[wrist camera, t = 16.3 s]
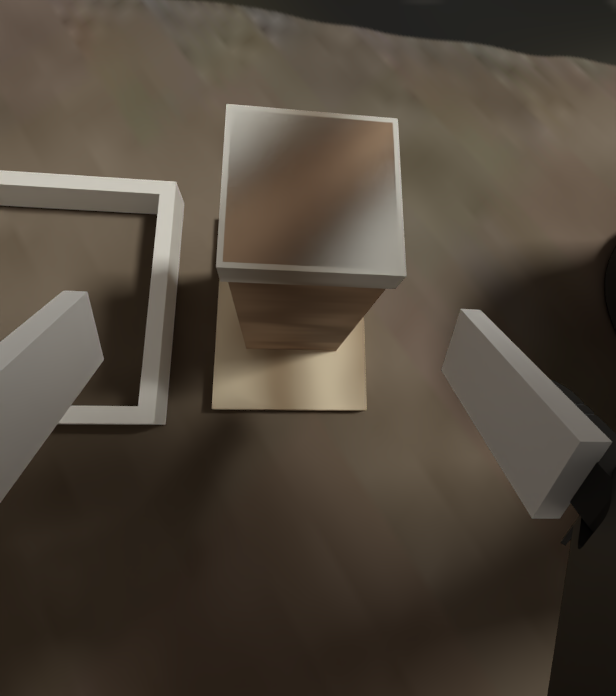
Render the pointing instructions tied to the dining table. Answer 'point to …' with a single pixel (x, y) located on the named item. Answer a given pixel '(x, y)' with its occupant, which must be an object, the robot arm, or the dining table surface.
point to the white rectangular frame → (164, 277)
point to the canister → (308, 223)
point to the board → (284, 371)
